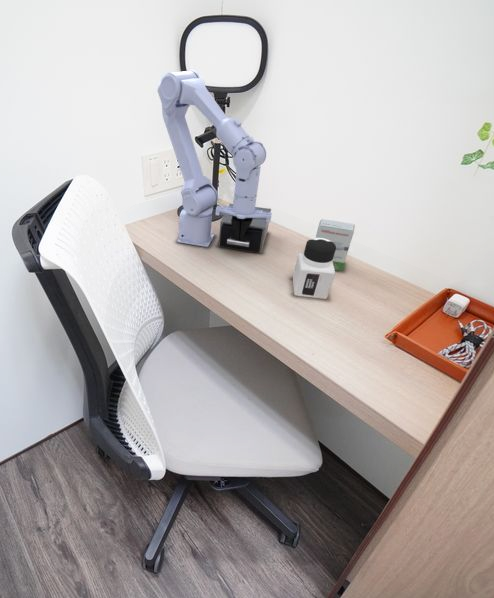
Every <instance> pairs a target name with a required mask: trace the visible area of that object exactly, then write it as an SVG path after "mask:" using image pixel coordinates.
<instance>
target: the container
mask: <svg viewBox="0 0 494 598" xmlns="http://www.w3.org/2000/svg"><path fill="white" fill-rule="evenodd" d="M335 251H336V245H335V244H334V243H333V242H332V241H330V240H327V239H324V238H316V237H312V238H310V239H308V240H307V241H306V243H305V247H304V251H303V252H299V253H298V254H297V259H296V263H295V267H294V271H293V275H292V287H293V294H294V296H298V297H305V298H313V299H322V300H327V299H328V297H329V294H330V291H331V288H332V285H333V282H334V279H335V276H336V270H335V269H334V266H333V262H332V261H333V257H334V254H335Z"/></svg>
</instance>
